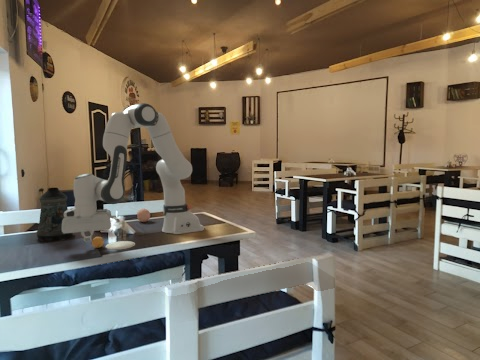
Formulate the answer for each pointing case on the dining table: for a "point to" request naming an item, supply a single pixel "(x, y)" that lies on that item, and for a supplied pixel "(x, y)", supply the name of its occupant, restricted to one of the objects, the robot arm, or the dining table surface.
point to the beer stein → (52, 216)
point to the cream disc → (120, 245)
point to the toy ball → (143, 215)
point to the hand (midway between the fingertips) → (88, 240)
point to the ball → (97, 242)
